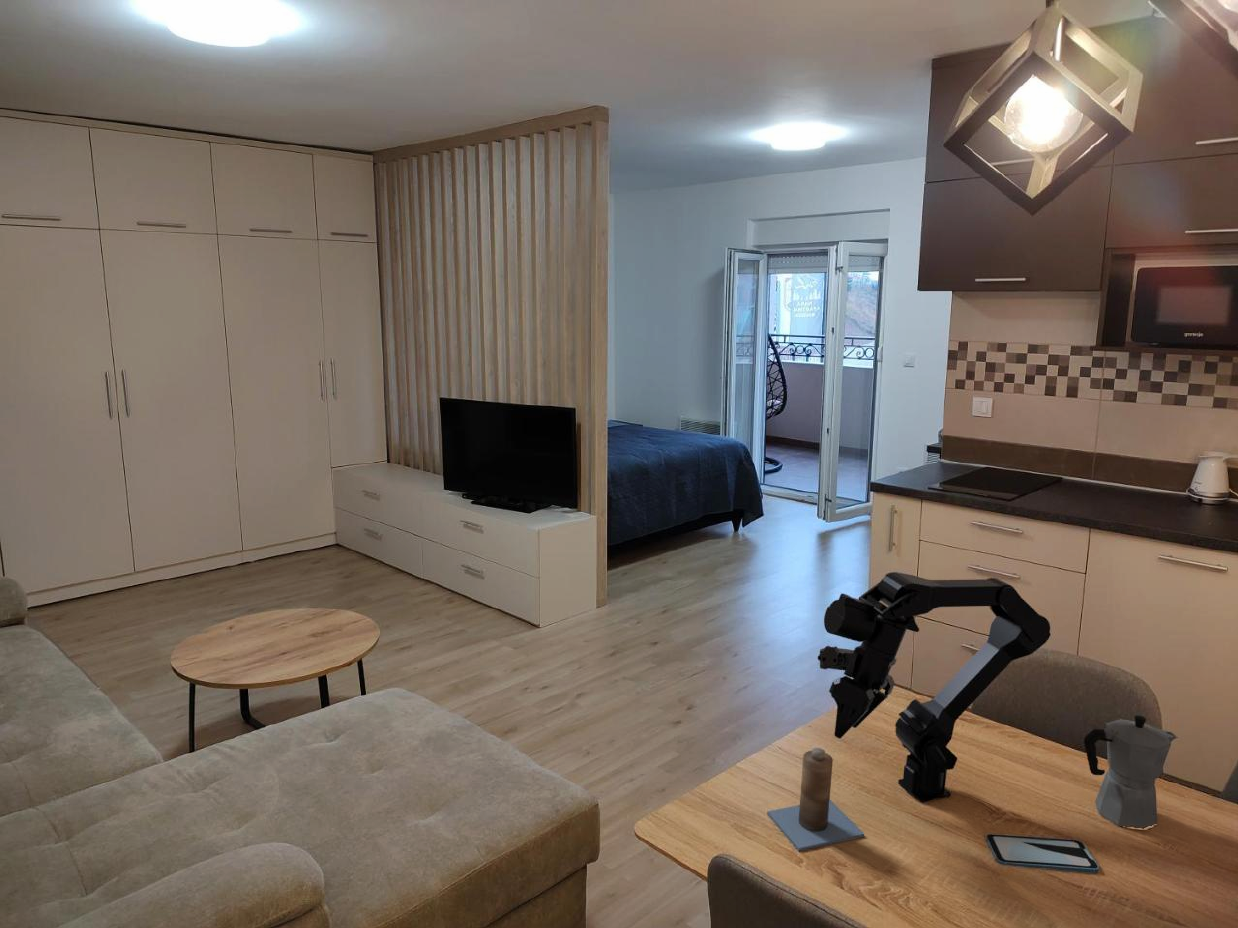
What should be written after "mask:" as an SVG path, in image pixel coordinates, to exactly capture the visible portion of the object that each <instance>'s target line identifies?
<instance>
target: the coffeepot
mask: <svg viewBox="0 0 1238 928" xmlns="http://www.w3.org/2000/svg"><path fill="white" fill-rule="evenodd" d="M1146 721H1147V718H1146V717H1144V716H1142V715H1137V714H1136V715H1134V721H1133V720H1127V719H1121V718H1120V719H1116V720H1113V721H1109V722H1106V723H1105V724H1106V727H1105V728H1101V729H1099V728H1094V729H1092V730H1091V731H1090V732H1089V733H1087V734H1086V735H1085V737H1084V739H1083V744H1084V745H1083V747H1084V749H1085V754H1086V758H1087V762H1088V765H1089V766H1088V767H1089V770H1090V771H1089V772H1090V773H1091V774H1092V775H1093V776H1103V775H1104V778H1103V780H1102V783H1101V785H1100V788H1099V790H1098V792H1097V796H1096V798H1095V801H1094V803H1095V807H1096V811H1097V810H1098V811H1097V812H1098V814H1099V815H1100V816H1101V817H1102V818H1104V819H1105V820H1106V819H1107V821H1108V820H1109V821H1108V822H1110V821H1111V822H1110V823H1112V822H1113V823H1114V825H1116V824H1117V825H1116V826H1118V825H1119V827H1121V826H1125V827H1134V828H1142V829H1144V828H1146V827H1148V826H1152V825H1154V824H1157V825H1158V812H1157V811H1158V810H1157V808H1158V807H1157V789H1156V785H1155V784H1156V780H1157V779H1159V778H1160V777H1161V776H1160V775H1161V773H1162V770H1163V767H1164V765H1165V762H1166V760H1167V757H1168V755H1169V751H1170V750H1171V746H1172V742H1173V741H1174V740H1176V739H1178V736H1177V735H1176V734H1175V733H1173V732H1171V731H1168V730H1166V729H1162V728H1161V729H1160V728H1156V727H1154V726H1151V725H1149V724H1148V723H1146ZM1098 741H1104V742H1106V752H1107V755H1106V757H1107V763H1108V766H1109V768H1108V771H1107V772H1106V771H1105V769H1100V768H1099V767H1098V766H1099V759H1098V756H1097V746H1096V743H1097V742H1098ZM1113 823H1112V824H1113Z"/></svg>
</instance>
